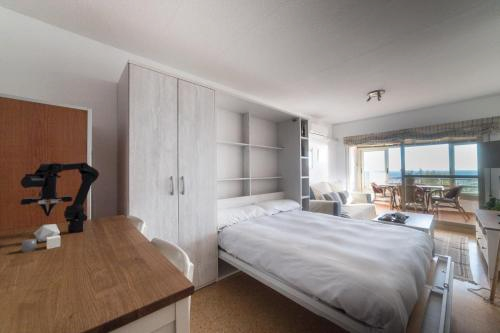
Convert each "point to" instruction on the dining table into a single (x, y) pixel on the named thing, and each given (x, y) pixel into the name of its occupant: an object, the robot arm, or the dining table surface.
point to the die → (46, 232)
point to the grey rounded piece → (29, 245)
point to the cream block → (53, 242)
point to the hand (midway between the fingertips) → (47, 216)
